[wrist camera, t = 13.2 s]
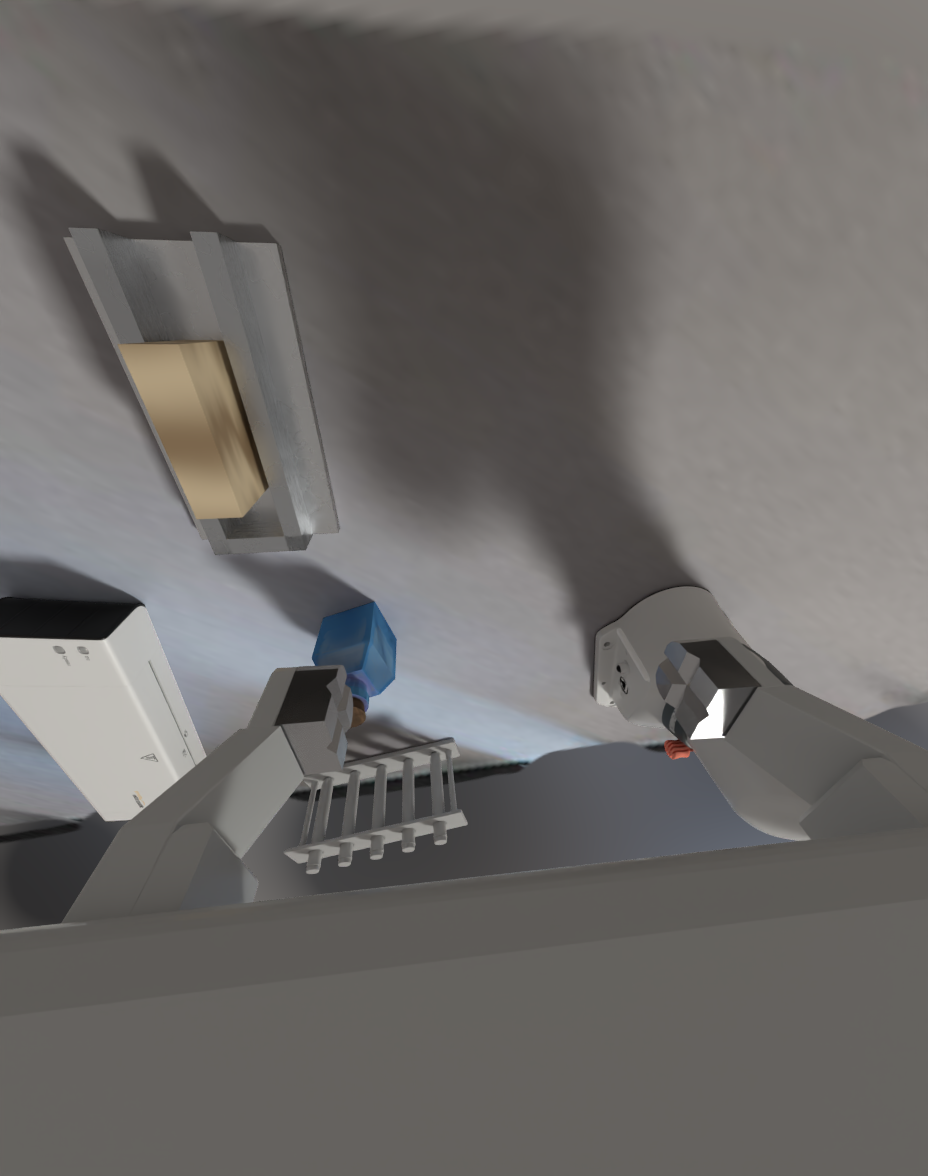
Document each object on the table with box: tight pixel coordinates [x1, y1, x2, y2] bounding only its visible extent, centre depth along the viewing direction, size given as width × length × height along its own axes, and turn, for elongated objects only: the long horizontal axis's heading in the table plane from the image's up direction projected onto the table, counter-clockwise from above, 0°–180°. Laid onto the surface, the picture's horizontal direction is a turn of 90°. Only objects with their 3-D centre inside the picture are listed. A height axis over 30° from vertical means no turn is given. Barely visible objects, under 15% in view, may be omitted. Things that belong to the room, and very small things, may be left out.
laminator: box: [0, 597, 206, 822], centre depth 43 cm, size 34×12×6 cm, turn 170°
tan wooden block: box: [117, 340, 269, 519], centre depth 25 cm, size 10×3×7 cm, turn 179°
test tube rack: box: [284, 738, 467, 874], centre depth 54 cm, size 25×4×13 cm, turn 101°
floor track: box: [63, 228, 340, 555], centre depth 27 cm, size 20×12×4 cm, turn 179°
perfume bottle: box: [312, 602, 396, 728], centre depth 38 cm, size 6×6×12 cm
